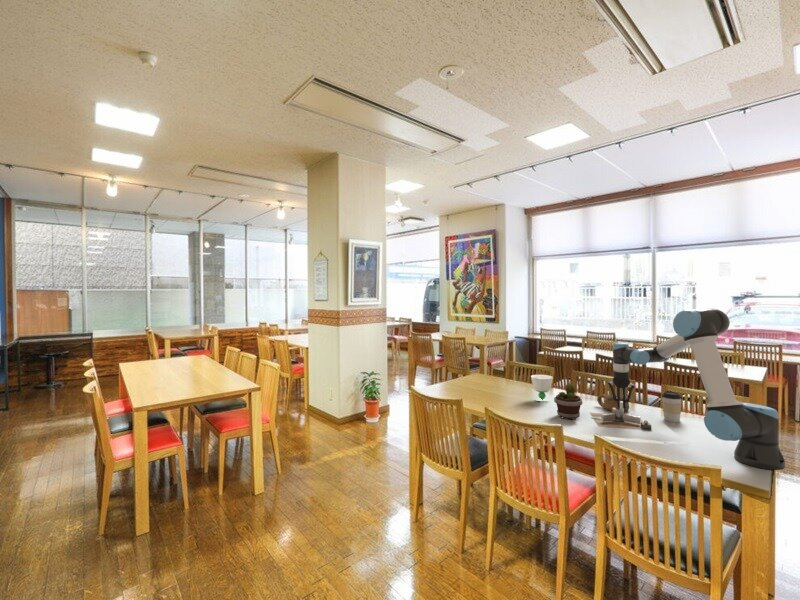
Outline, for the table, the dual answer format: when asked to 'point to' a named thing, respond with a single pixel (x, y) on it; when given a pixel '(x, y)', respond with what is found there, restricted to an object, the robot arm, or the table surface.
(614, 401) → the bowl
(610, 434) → the table surface
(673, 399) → the coffee cup
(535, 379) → the cup
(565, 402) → the flowerpot
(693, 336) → the robot arm
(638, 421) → the grey cross-shaped piece
